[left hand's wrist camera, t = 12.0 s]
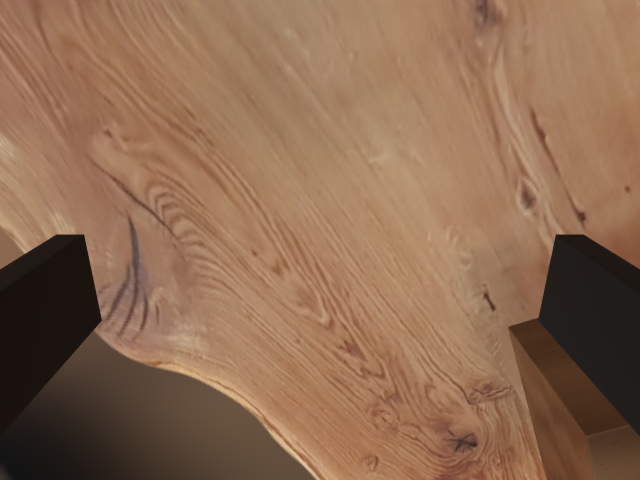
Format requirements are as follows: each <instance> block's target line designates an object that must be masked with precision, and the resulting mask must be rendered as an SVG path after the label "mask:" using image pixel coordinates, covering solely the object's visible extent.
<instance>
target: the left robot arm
mask: <svg viewBox="0 0 640 480" xmlns="http://www.w3.org/2000/svg"><path fill="white" fill-rule="evenodd" d="M101 321H102V319H101V314H100V309H99V304H98V299H97V295H96V290H95V285H94V280H93V275H92V271H91V266H90V261H89V256H88V251H87V246H86V242H85V237H84V235H55V236H53V237H52V238H50V239H49V240H47V241H45V242H44V243H42V244H41V245H39V246H37V247H36V248H34V249H32V250H31V251H29V252H28V253H26V254H24V255H23V256H21V257H20V258H18V259H16V260H15V261H13V262H11V263H10V264H8V265H7V266H5V267H3V268H2V269H0V436H1V435H2V434H3V433H4V432H5V431H6V429H7V428H8V427H9V426H10V425H11V424H12V423H13V421H14V420H15V419H16V418H17V417H18V416H19V415H20V413H21V412H22V411H23V410H24V409H25V408H26V407H27V405H28V404H29V403H30V402H31V401H32V400H33V399H34V397H35V396H36V395H37V394H38V393H39V392H40V391H41V389H42V388H43V387H44V386H45V385H46V384H47V383H48V381H49V380H50V379H51V378H52V377H53V376H54V375H55V373H56V372H57V371H58V370H59V369H60V368H61V367H62V365H63V364H64V363H65V362H66V361H67V360H68V359H69V357H70V356H71V355H72V354H73V353H74V352H75V351H76V349H77V348H78V347H79V346H80V345H81V344H82V343H83V341H84V340H85V339H86V338H87V337H88V336H89V335H90V333H91V332H92V331H93V330H94V329H95V328H96V327H97V325H98V324H99V323H100V322H101ZM538 321H539V322H540V323H541V324H542V325H543V327H544V328H545V329H546V330H547V331H548V332H549V333H550V335H551V336H552V337H553V338H554V339H555V340H556V341H557V343H558V344H559V345H560V346H561V347H562V348H563V349H564V351H565V352H566V353H567V354H568V355H569V356H570V357H571V359H572V360H573V361H574V362H575V363H576V364H577V365H578V367H579V368H580V369H581V370H582V371H583V372H584V373H585V375H586V376H587V377H588V378H589V379H590V380H591V381H592V383H593V384H594V385H595V386H596V387H597V388H598V389H599V391H600V392H601V393H602V394H603V395H604V396H605V397H606V399H607V400H608V401H609V402H610V403H611V404H612V405H613V407H614V408H615V409H616V410H617V411H618V412H619V413H620V415H621V416H622V417H623V418H624V419H625V420H626V421H627V423H628V424H629V425H630V426H631V427H632V428H633V429H634V431H635V432H636V433H637V434H638V435H639V436H640V269H638V268H637V267H635V266H633V265H632V264H630V263H629V262H627V261H625V260H624V259H622V258H620V257H619V256H617V255H616V254H614V253H612V252H611V251H609V250H608V249H606V248H604V247H603V246H601V245H599V244H598V243H596V242H595V241H593V240H591V239H590V238H588V237H587V236H585V235H556V237H555V242H554V246H553V251H552V256H551V261H550V266H549V271H548V275H547V280H546V285H545V290H544V295H543V299H542V304H541V309H540V314H539V319H538Z"/></svg>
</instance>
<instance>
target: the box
mask: <svg viewBox="0 0 640 480" xmlns="http://www.w3.org/2000/svg"><path fill="white" fill-rule="evenodd" d="M538 319H539V318H536V319H533V320H529V321H526V322H523V323H519V324H516V325H513V326H509V327H508V329H509V333H510V337H511V341H512V345H513V349H514V353H515V357H516V361H517V364H518V368H519V372H520V376H521V380H522V384H523V388H524V392H525V396H526V400H527V404H528V408H529V412H530V416H531V420H532V424H533V428H534V431H535V435H536V439H537V443H538V447H539V451H540V455H541V459H542V463H543V467H544V471H545V475H546V479H547V480H640V436H639V435H638V434H637V433H636V432H635V431H634V429H633V428H632V427H631V426H630V425H629V424H628V423H627V421H626V420H625V419H624V418H623V417H622V416H621V415H620V413H619V412H618V411H617V410H616V409H615V408H614V407H613V405H612V404H611V403H610V402H609V401H608V400H607V399H606V397H605V396H604V395H603V394H602V393H601V392H600V391H599V389H598V388H597V387H596V386H595V385H594V384H593V383H592V381H591V380H590V379H589V378H588V377H587V376H586V375H585V373H584V372H583V371H582V370H581V369H580V368H579V367H578V365H577V364H576V363H575V362H574V361H573V360H572V359H571V357H570V356H569V355H568V354H567V353H566V352H565V351H564V349H563V348H562V347H561V346H560V345H559V344H558V343H557V341H556V340H555V339H554V338H553V337H552V336H551V335H550V333H549V332H548V331H547V330H546V329H545V328H544V327H543V325H542V324H541V323H540V322H539V321H538Z"/></svg>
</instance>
